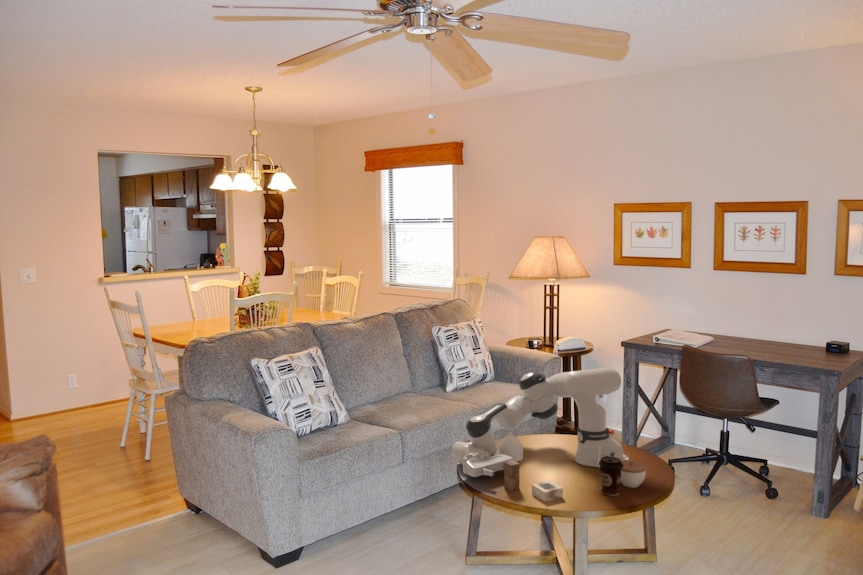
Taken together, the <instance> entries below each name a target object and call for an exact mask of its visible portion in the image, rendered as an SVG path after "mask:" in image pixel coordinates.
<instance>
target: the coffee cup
mask: <svg viewBox="0 0 863 575" xmlns="http://www.w3.org/2000/svg"><path fill="white" fill-rule="evenodd" d="M599 465H600V468H599V475H600V484H601V493H602V494H603V495H606V496H612V497H615V496H619V495H620V490H619V489H620V487H621V486H620V485H621V481H620V479H621V471H622V468H623V464H622V462H621V460H620V459H619V458H616V457H609V456H605V457H602V458H601V460H600V462H599Z"/></svg>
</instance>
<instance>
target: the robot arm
mask: <svg viewBox="0 0 863 575" xmlns="http://www.w3.org/2000/svg"><path fill="white" fill-rule="evenodd" d="M518 385H519V388H520V390H522V394H523V395H518V394H517V395H514V396H513V397H511V398H509V399H508V400H506V402H504V403H501V402H500V403H495V404H493V405H492V406H490V407H488V408H487V409H485V410H484V411H482V412H481V413H479V414H477V415H474V416H472V417H470V418H469V419H468V421H467V422H466V424H465V428H466V430H467V431H466V432H467V434H468V436H469V440H470V441H469V442H465V441H456V442H455V443H453V446H452V447H451V456H452V458H453V459H454V460H455V461H456V462H457V463H459V464H461V466H462V472H463V473H464V474H465V475H468V476H470V477H473V478H478V477H480V476H481V477H482V476H490V477H493V476H495V472H498V471H502V470H504V462H508V461H512V460H513V458H512V457H510V456H507V455H504V454H498V453H497V454H496V452H497V451H498V448H497V444H496V440H495V437H494V433H493V430H492V421H495V422H496V423H497V425H498V426H499V427H501V428H502V429H504V430H508V431H511V430H514V429H515V430H516V428H517V427H519V426H520V425H521V423H522V422H523V421H524V420H525V419H526V417H527V416H529V415H530V414H531V417H532V418H536V419H537V420H538V419H539V420H547V419H551V417H554V416H555V415H556V413H557V411H558V405H557V402H556V401H555V399H554V397H559V398H572V399H573V401H574V402H575V403H576V406H577V411H578V427H577V447H576V448H577V449H576V451H575V456H574V461H575V462H576V463H577V464H580V465H582V466H587V467H593V468H594V467H595V468H599V469H600V465H599V462H600V460H601V458H602V457H605V456H609V457H616V458H619V459H620V460H621V461H623V460H630V459H629V457H628V456H627V455H626V454H624V450H623V449H624V448H623V446H622V445H621V444H620V443H619V442H618V441H617V440H615V439H614V438H613V437H611V435H612V436H613V435H615V430H613V429H611V428H608V427H607V411H606V409H605V408H604V407H603V406H602V405H601V404H598V402H597V396H604V395H609V394H612V393H614V392H616V391H618V390H620V388H621V385H622V377H621V375H620V373H619V372H618V371H617V370H616V369H614V368H610V367H600V368H592V369H591V368H590V369H582V370H571V371H564V372H563V371H562V372H559V373H556V374H554V375H551V376H550V377H548V378H546V375H545V374H544V373H543V374H541V373H540V372H536V371H531V372H528V373H526V374H524V375H523V376H522V377H521V378H520V379H519V381H518ZM553 396H554V397H553Z"/></svg>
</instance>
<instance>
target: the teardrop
mask: <svg viewBox="0 0 863 575" xmlns="http://www.w3.org/2000/svg"><path fill="white" fill-rule="evenodd" d="M523 449H524V448H523V445H522V443H521V441H520V439H518V438H517V437H516V436H515V435H514V434H512V431H511V430H509V433H508V434H506V435H505V436H504V437H503V438H502V439H501V440H500V441H499V443H498V447H497V454H504V455H507V456H510V457H512V458H513V461H515V462H517V463H519V462H521V461H523V460H524V451H523ZM518 461H519V462H518Z"/></svg>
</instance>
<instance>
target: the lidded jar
mask: <svg viewBox="0 0 863 575" xmlns="http://www.w3.org/2000/svg"><path fill="white" fill-rule="evenodd" d="M621 462H622V464H623V468H622V471H621V479H620V483H621V484H622V485H623V486H624V487H627V488H632V489H633V488H635V489H636V488H639V487H640V486H641V485H642V483H643V482H644V480H645V478H646V474H647V473H646V472H647V471H646V470H647V466H646V464H645V463H643V462H641V461H638V460H631V459H629V460H623V461H621Z"/></svg>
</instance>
